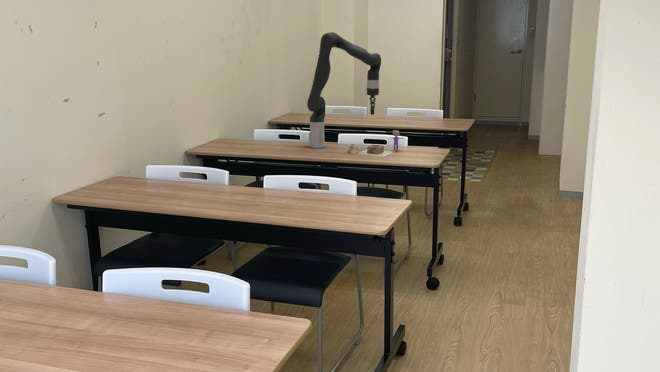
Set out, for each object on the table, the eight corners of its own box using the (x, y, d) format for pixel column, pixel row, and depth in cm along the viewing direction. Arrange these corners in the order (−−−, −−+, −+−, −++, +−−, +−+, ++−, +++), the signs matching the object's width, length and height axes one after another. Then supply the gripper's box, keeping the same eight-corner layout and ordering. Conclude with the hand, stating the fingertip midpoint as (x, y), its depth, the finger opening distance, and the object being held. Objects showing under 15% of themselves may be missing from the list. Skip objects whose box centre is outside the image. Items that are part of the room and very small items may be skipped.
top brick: (347, 155, 388) (347, 144, 386) (350, 153, 392) (350, 143, 390) (354, 155, 386) (354, 145, 384) (357, 154, 390) (357, 143, 388)
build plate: (357, 155, 386) (357, 152, 386) (367, 150, 398) (367, 147, 397) (384, 158, 378) (384, 155, 377) (393, 153, 390) (393, 150, 389)
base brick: (366, 153, 386) (366, 147, 385) (372, 150, 393) (372, 144, 392) (378, 154, 382) (378, 148, 381) (383, 151, 389) (384, 145, 388)
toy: (404, 152, 393) (404, 128, 389) (404, 154, 388) (404, 130, 383) (387, 151, 394) (387, 128, 390) (387, 154, 389) (387, 130, 384)
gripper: (366, 85, 384) (366, 111, 389) (366, 88, 371) (366, 115, 376) (378, 85, 384) (378, 111, 389) (379, 88, 370) (378, 115, 375)
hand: (372, 113), depth 382 cm, fingers open, 8 cm apart
